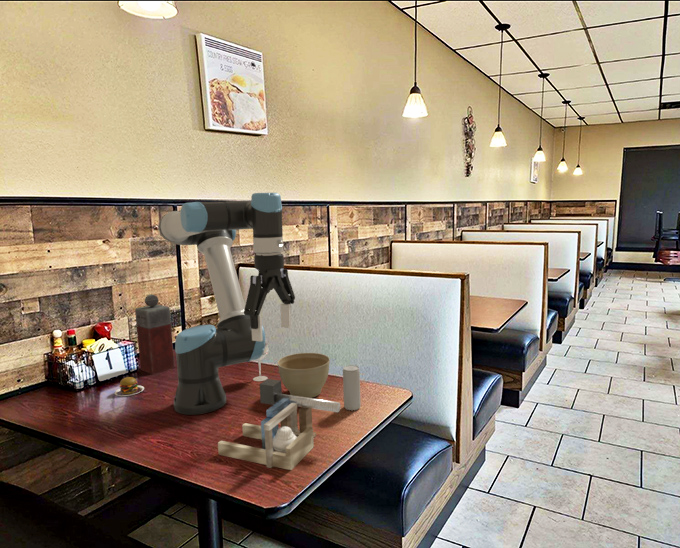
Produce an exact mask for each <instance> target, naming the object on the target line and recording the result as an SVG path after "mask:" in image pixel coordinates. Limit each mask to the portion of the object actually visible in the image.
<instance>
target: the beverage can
mask: <svg viewBox="0 0 680 548" xmlns="http://www.w3.org/2000/svg"><path fill="white" fill-rule="evenodd" d="M342 369H343V370H342V383H343V384H342V386H343V387H342V388H343V408H345V410H347V411H350V410H351V411H352V412H353V410H354V411H357V410H359V409H360V408H361V407H362V406H361V402H362V401H361V376H360V375H361V372H360V370H361V369H360V367H359V365H356V364H355V365H353V364H350V365H345V366H343V368H342ZM351 411H350V412H351Z"/></svg>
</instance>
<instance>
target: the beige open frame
mask: <svg viewBox="0 0 680 548" xmlns="http://www.w3.org/2000/svg"><path fill="white" fill-rule="evenodd" d="M289 414H290V416H291V430H292V432H293V434H295V435H296V436H297V438H296V439H295V440H294V441H293V442H292V443H291V444H290V445H288V446H287V447H286V453H281V452H276V451H275V450H273V437H272V428H274V427H275V426H276V425H277V424H278V425H279V423H280V422H281V421H282V420H283V419H285V418H286V417H287V416H288V415H289ZM298 423H299V422H298V406H297V403H291V404H290V405H289V406H287V407H286V408H285V409H283V410H282V411H281V412H279V413H278V414H277V415H276V416H274V417H273V418H272V419H271V420H269V421H268V422H267V423H265V424H264V430H265V447H266V449H262V447H256V446H255V447H254V446H250V445H245V444H240V443H235V442H231V441H225V440H219V441H218V442H217V451H218V456H219V455H220V456H224V457H227V458H233V459H237V460H242V461H247V462H251V463H255V464H260V465H265V466H266V468H270V469H273V467H274V468H279V469H283V470H288V471H292V470H293V469H294V468H296V466H297V465H298V464H299V463H301V461H302V460H303V459H304V458H305V457H306V456H307V455H308V454H309V452H310V451H311V450H313V448H314V447H315V444H314V442H315V441H314V438H315V437H314V438H313V432H314V427H313V426H312V427H308V428H307V429H306V430H305V431H303V432H302V433H298V430H299V428H298V427H299V424H298ZM241 428H242V436H243V437H247V438H251V439H257V440H261V441H262V432H261V425H260V424H259V425H257V424H253V423H246V422H245V423H243V424H242V426H241Z"/></svg>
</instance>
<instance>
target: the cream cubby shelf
mask: <svg viewBox="0 0 680 548" xmlns="http://www.w3.org/2000/svg"><path fill="white" fill-rule="evenodd" d="M288 406H289V405H288ZM284 409H285V408H284ZM312 410H313V409H312V408H306V407H300V408H299V409H298V421H299V422H298V423H299V424H298V427H299V429H298V433H302V432H303V431H305V430H306V429H307V428H308V427H313V413H312V412H313V411H312ZM280 412H281V411H280ZM280 412H279V413H280ZM285 426H286V427H289V428H291V416H290V414H289V415H288V416H287V417H286V418H285V419H283V420H282V421H281V422H280V428H281V427H285ZM316 436H317V432H314V431H313V438H316Z"/></svg>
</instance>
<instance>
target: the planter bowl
mask: <svg viewBox="0 0 680 548" xmlns="http://www.w3.org/2000/svg"><path fill="white" fill-rule="evenodd" d="M330 361H331V359H330V357H329V356H327V355H326V354H322V353H318V352H300V353H299V352H298V353H292V354H289V355H286V356H283V357H281V358H280V359H278V360H277V367H278V372H279V373H278V374H279V377H280V379H281V380H280V381H281V383H282V384H283V386H284V387H285V389H287V390H288V391H289V395H293V396H299V397H306V398H313V399H314V398H315V397H317V396H319V395H320V394H321V392H322V390H323V388H324V385H325V384H326V381H327V379H328V377H329V372H330V363H331V362H330Z"/></svg>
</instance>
